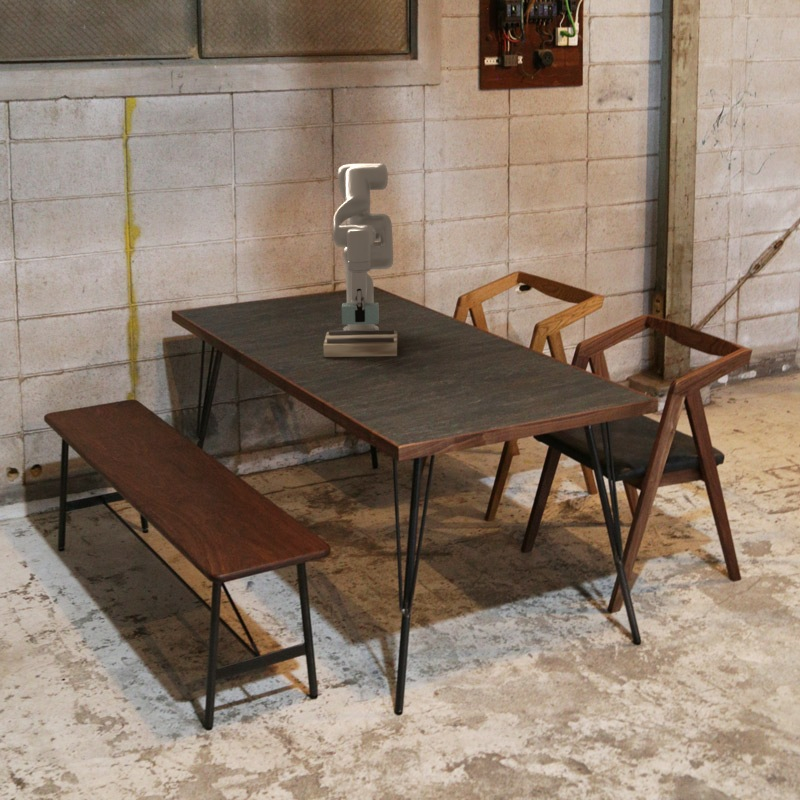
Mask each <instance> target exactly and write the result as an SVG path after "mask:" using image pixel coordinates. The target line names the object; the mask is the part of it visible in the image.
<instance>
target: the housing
mask: <svg viewBox="0 0 800 800" xmlns="http://www.w3.org/2000/svg"><path fill="white" fill-rule="evenodd" d="M355 310H356V304H355V303H347V302H342V304H341V325H342V326H343V325H344V326H345V325H346V326H348V325H349V324H374V325H378V324H379V323H380V321H379V320H380V319H379V318H380V314H379V313H380V311H379V302H374V303H364V310H365V322H355Z"/></svg>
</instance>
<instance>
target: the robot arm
mask: <svg viewBox="0 0 800 800" xmlns="http://www.w3.org/2000/svg"><path fill="white" fill-rule="evenodd" d="M337 170H338V171H337V182H338V187H339V189H340V192H341V195H342V198H343V200H344V202H343V203H342V204H340V205H339V206H338V208H337V209H336V210H335V213H334V215H333V217H332V223H331V224H332V225H331V226H332V228H331V230H332V242H333V244H334V246H336V247H337V248H343V250H342V258H343V259H342V260H343V265H344V270H345V283H346V284H345V286H346V288H345V289H346V290H345V291H346V303H355V304H356V310H355V322H365V310H364V303H375V302H374V301H375V299H374V298H375V297H374V289H375V287H374V281H373V279H372V276H371V275H369V273H368V272H370V271H372V270H387V269H390V268H391V267H392V266H393V264H394V244H393V242H394V240H393V239H394V238H393V224H392V221H391V217H390V216H389V215H388V214H385V213H371V191H378V190H379V191H380V190H382V191H383V190H386V188H387V186H388V182H389V173H388V168H387V166H386V164H385V163H382V162H381V163H380V162H378V163H377V162H372V163H371V162H368V163H367V162H366V163H363V162H362V163H361V162H360V163H347V164H343V165H341V166H340V167H339V168H338V169H337ZM344 222H345V224H342V223H344ZM342 330H380V329H379V326H377V324H349V325H346V326H345V325H344V327H343V328H342Z"/></svg>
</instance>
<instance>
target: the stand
mask: <svg viewBox="0 0 800 800" xmlns="http://www.w3.org/2000/svg"><path fill="white" fill-rule="evenodd" d="M323 357H324V358H343V357H345V358H346V357H348V358H349V357H359V358H360V357H398V331H397V330H396V331H395V329H379V330H343V329H340V330H328V331H327V332H326V334H325V337H324V341H323Z"/></svg>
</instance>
